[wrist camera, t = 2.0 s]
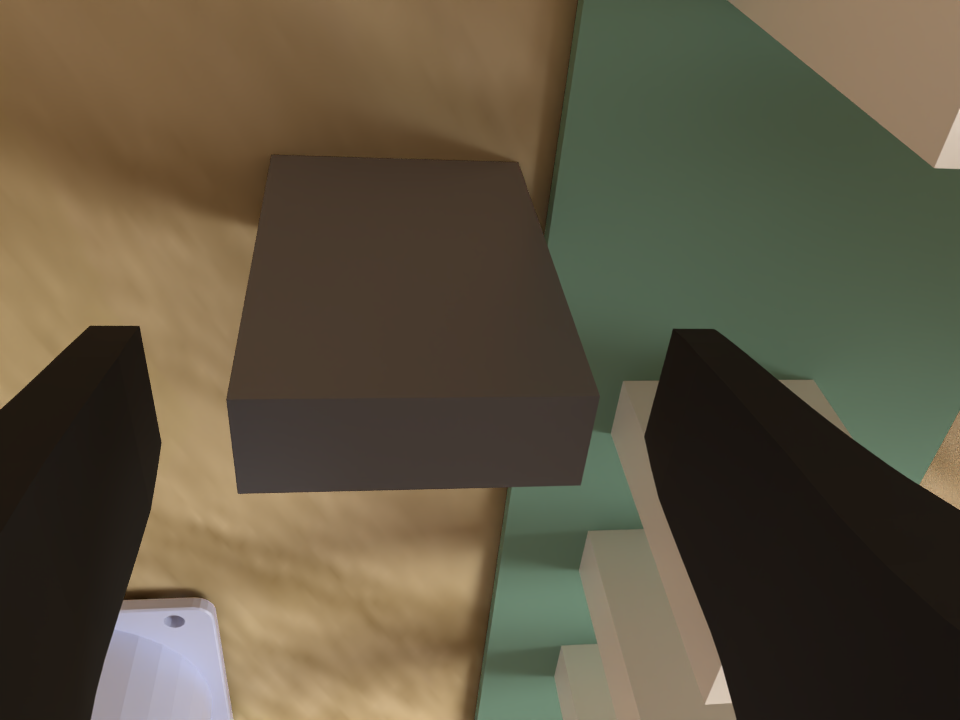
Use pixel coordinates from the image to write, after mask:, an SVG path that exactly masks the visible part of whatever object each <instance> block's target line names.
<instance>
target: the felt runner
mask: <svg viewBox="0 0 960 720" xmlns="http://www.w3.org/2000/svg"><path fill="white" fill-rule="evenodd" d="M544 237H545V240H546V243H547V246H548V249H549V252H550V255H551V257H552V260H553V263H554V266H555V269H556V272H557V275H558V277H559V280H560V283H561V286H562V289H563V292H564V295H565V297H566V300H567V303H568V306H569V309H570V312H571V315H572V317H573V320H574V323H575V326H576V329H577V332H578V335H579V337H580V340H581V343H582V346H583V349H584V352H585V355H586V357H587V360H588V363H589V366H590V369H591V372H592V375H593V377H594V380H595V383H596V386H597V389H598V392H599V395H600V399H599V404H598V408H597V413H596V417H595V422H594V427H593V431H592V436H591V441H590V445H589V450H588V454H587V459H586V464H585V468H584V473H583V478H582V482H581V486H542V487H508V490H507V497H506V504H505V511H504V518H503V525H502V532H501V538H500V545H499V552H498V559H497V566H496V573H495V580H494V587H493V594H492V601H491V608H490V615H489V622H488V629H487V635H486V642H485V649H484V656H483V663H482V670H481V677H480V684H479V691H478V698H477V705H476V712H475V719H474V720H563V718H562V713H561V708H560V703H559V698H558V693H557V688H556V683H555V678H554V675H555V671H556V667H557V662H558V658H559V654H560V650H561V646H562V645H583V644H597V640H596V636H595V632H594V628H593V624H592V620H591V616H590V612H589V608H588V605H587V601H586V597H585V593H584V589H583V585H582V581H581V577H580V573H579V568H580V564H581V559H582V555H583V551H584V546H585V542H586V538H587V534H588V531H597V530H630V529H644V528H643V525H642V522H641V519H640V517H639V514H638V511H637V508H636V505H635V502H634V499H633V496H632V493H631V491H630V488H629V485H628V482H627V479H626V476H625V473H624V470H623V467H622V465H621V462H620V459H619V456H618V453H617V450H616V447H615V444H614V441H613V439H612V436H611V430H612V426H613V422H614V418H615V413H616V409H617V405H618V400H619V396H620V392H621V387H622V383H623V381H659V379H660V375H661V372H662V368H663V364H664V360H665V357H666V353H667V349H668V345H669V342H670V338H671V334H672V330H673V329H715V330H717V331H718V332H719V333H721V334H722V335H724V336H725V337H726V338H728V339H729V340H730V341H731V342H733V343H734V344H735V345H736V346H738V347H739V348H740V349H741V350H743V351H744V352H745V353H746V354H748V355H749V356H750V357H751V358H752V359H754V360H755V361H756V362H757V363H758V364H760V365H761V366H762V367H763V368H764V369H766V370H767V371H768V372H769V373H770V374H772V375H773V376H774V377H775V378H776V379H778V380H814V381H815V383H816V384H817V386H818V387H819V389H820V390H821V392H822V393H823V395H824V396H825V398H826V399H827V401H828V402H829V404H830V405H831V407H832V408H833V410H834V411H835V413H836V414H837V416H838V417H839V419H840V420H841V422H842V423H843V425H844V426H845V428H846V429H847V431H848V432H849V434H850V435H851V437H852V438H853V440H855V441H856V442H858V443H859V444H860V445H862V446H863V447H865V448H866V449H867V450H869V451H870V452H872V453H873V454H874V455H876V456H877V457H878V458H880V459H881V460H883V461H884V462H885V463H887V464H888V465H890V466H891V467H893V468H894V469H896V470H897V471H899V472H900V473H902V474H903V475H905V476H906V477H908V478H909V479H911V480H912V481H914V482H915V483H917V484H918V485H919V484H920V482H921V480H922V478H923V477H924V475H925V473H926V471H927V469H928V467H929V466H930V464H931V462H932V460H933V458H934V456H935V455H936V453H937V451H938V449H939V447H940V445H941V444H942V442H943V440H944V438H945V436H946V434H947V433H948V431H949V429H950V427H951V425H952V423H953V422H954V420H955V418H956V416H957V414H958V412H959V411H960V169H944V168H933V167H932V166H931V165H930V164H928V163H927V162H926V161H925V160H923V159H922V158H921V157H920V156H919V155H917V154H916V153H915V152H914V151H912V150H911V149H910V148H909V147H907V146H906V145H905V144H904V143H903V142H901V141H900V140H899V139H898V138H896V137H895V136H894V135H893V134H891V133H890V132H889V131H888V130H887V129H885V128H884V127H883V126H882V125H880V124H879V123H878V122H877V121H875V120H874V119H873V118H872V117H870V116H869V115H868V114H867V113H866V112H864V111H863V110H862V109H861V108H859V107H858V106H857V105H856V104H854V103H853V102H852V101H851V100H850V99H848V98H847V97H846V96H845V95H843V94H842V93H841V92H840V91H838V90H837V89H836V88H835V87H834V86H832V85H831V84H830V83H829V82H827V81H826V80H825V79H824V78H822V77H821V76H820V75H819V74H818V73H816V72H815V71H814V70H813V69H811V68H810V67H809V66H808V65H806V64H805V63H804V62H803V61H802V60H800V59H799V58H798V57H797V56H795V55H794V54H793V53H792V52H790V51H789V50H788V49H787V48H785V47H784V46H783V45H782V44H781V43H779V42H778V41H777V40H776V39H774V38H773V37H772V36H771V35H769V34H768V33H767V32H766V31H765V30H763V29H762V28H761V27H760V26H758V25H757V24H756V23H755V22H753V21H752V20H751V19H750V18H749V17H747V16H746V15H745V14H744V13H742V12H741V11H740V10H739V9H737V8H736V7H735V6H734V5H733V4H731V3H730V2H729V1H728V0H578V5H577V12H576V19H575V25H574V32H573V39H572V46H571V53H570V60H569V67H568V74H567V81H566V88H565V95H564V102H563V109H562V116H561V123H560V129H559V136H558V143H557V150H556V157H555V164H554V171H553V178H552V185H551V192H550V199H549V206H548V213H547V220H546V227H545V233H544Z"/></svg>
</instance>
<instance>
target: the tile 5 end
mask: <svg viewBox="0 0 960 720" xmlns="http://www.w3.org/2000/svg"><path fill="white" fill-rule="evenodd" d="M728 1H729V2H730V3H731V4H733V5H734V6H735V7H736V8H737V9H739V10H740V11H741V12H742V13H744V14H745V15H746V16H747V17H749V18H750V19H751V20H752V21H753V22H755V23H756V24H757V25H758V26H760V27H761V28H762V29H763V30H765V31H766V32H767V33H768V34H769V35H771V36H772V37H773V38H774V39H776V40H777V41H778V42H779V43H781V44H782V45H783V46H784V47H785V48H787V49H788V50H789V51H790V52H792V53H793V54H794V55H795V56H797V57H798V58H799V59H800V60H802V61H803V62H804V63H805V64H806V65H808V66H809V67H810V68H811V69H813V70H814V71H815V72H816V73H818V74H819V75H820V76H821V77H822V78H824V79H825V80H826V81H827V82H829V83H830V84H831V85H832V86H834V87H835V88H836V89H837V90H838V91H840V92H841V93H842V94H843V95H845V96H846V97H847V98H848V99H850V100H851V101H852V102H853V103H854V104H856V105H857V106H858V107H859V108H861V109H862V110H863V111H864V112H866V113H867V114H868V115H869V116H870V117H872V118H873V119H874V120H875V121H877V122H878V123H879V124H880V125H882V126H883V127H884V128H885V129H887V130H888V131H889V132H890V133H891V134H893V135H894V136H895V137H896V138H898V139H899V140H900V141H901V142H903V143H904V144H905V145H906V146H907V147H909V148H910V149H911V150H912V151H914V152H915V153H916V154H917V155H919V156H920V157H921V158H922V159H923V160H925V161H926V162H927V163H928V164H930V165H931V166H932V167H933V168H944V169H960V0H728Z"/></svg>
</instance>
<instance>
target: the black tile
mask: <svg viewBox="0 0 960 720" xmlns="http://www.w3.org/2000/svg"><path fill="white" fill-rule="evenodd" d="M599 399H600V395H599V392H598V389H597V386H596V383H595V380H594V377H593V375H592V372H591V369H590V366H589V363H588V360H587V357H586V355H585V352H584V349H583V346H582V343H581V340H580V337H579V335H578V332H577V329H576V326H575V323H574V320H573V317H572V315H571V312H570V309H569V306H568V303H567V300H566V297H565V295H564V292H563V289H562V286H561V283H560V280H559V277H558V275H557V272H556V269H555V266H554V263H553V260H552V257H551V255H550V252H549V249H548V246H547V243H546V240H545V237H544V235H543V232H542V229H541V226H540V223H539V220H538V217H537V215H536V212H535V209H534V206H533V203H532V200H531V197H530V195H529V192H528V189H527V186H526V183H525V180H524V177H523V175H522V172H521V169H520V166H519V163H518V162H494V161H460V160H427V159H394V158H360V157H327V156H294V155H271V160H270V165H269V171H268V176H267V182H266V187H265V193H264V198H263V204H262V209H261V214H260V220H259V225H258V231H257V236H256V242H255V247H254V252H253V258H252V263H251V269H250V274H249V280H248V285H247V291H246V296H245V301H244V307H243V312H242V318H241V323H240V329H239V334H238V339H237V345H236V350H235V356H234V361H233V367H232V372H231V378H230V383H229V388H228V394H227V399H226V400H227V408H228V417H229V425H230V433H231V441H232V450H233V458H234V466H235V474H236V483H237V491H238V494H247V493H289V492H331V491H373V490H415V489H457V488H499V487H542V486H581V482H582V478H583V473H584V468H585V464H586V459H587V454H588V450H589V445H590V441H591V436H592V431H593V427H594V422H595V417H596V413H597V408H598V404H599Z"/></svg>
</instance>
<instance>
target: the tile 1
mask: <svg viewBox="0 0 960 720" xmlns="http://www.w3.org/2000/svg"><path fill="white" fill-rule="evenodd" d="M554 678H555V683H556V688H557V693H558V698H559V703H560V708H561V713H562V718H563V720H617V718H616V714H615V710H614V707H613V703H612V699H611V695H610V691H609V687H608V683H607V679H606V675H605V671H604V667H603V663H602V659H601V656H600V652H599V648H598V644H583V645H562V646H561V650H560V654H559V658H558V662H557V667H556V671H555V675H554Z"/></svg>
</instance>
